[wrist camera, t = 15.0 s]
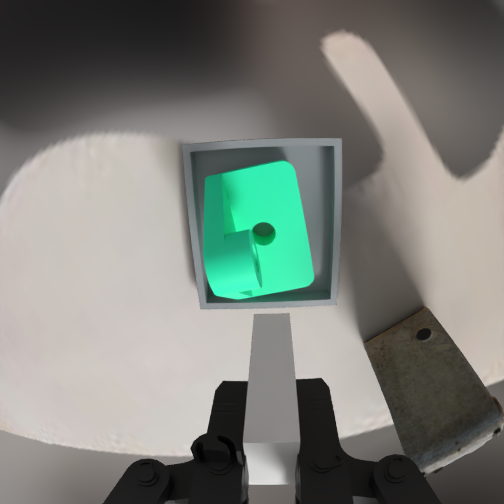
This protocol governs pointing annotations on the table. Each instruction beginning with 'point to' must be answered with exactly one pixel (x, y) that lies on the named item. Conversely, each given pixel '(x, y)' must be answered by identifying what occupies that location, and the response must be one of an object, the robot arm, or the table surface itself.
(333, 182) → the tray
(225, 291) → the camera mount
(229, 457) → the robot arm
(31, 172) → the table surface
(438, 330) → the vintage camera
